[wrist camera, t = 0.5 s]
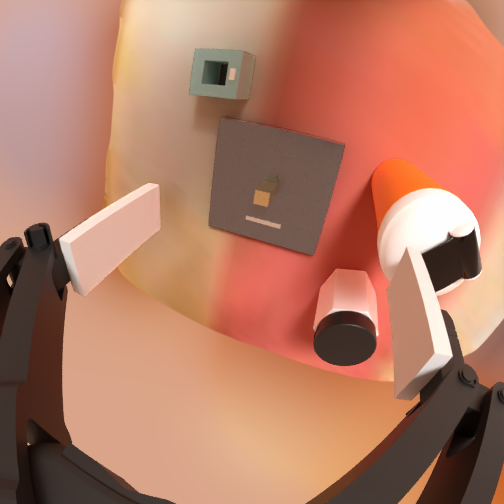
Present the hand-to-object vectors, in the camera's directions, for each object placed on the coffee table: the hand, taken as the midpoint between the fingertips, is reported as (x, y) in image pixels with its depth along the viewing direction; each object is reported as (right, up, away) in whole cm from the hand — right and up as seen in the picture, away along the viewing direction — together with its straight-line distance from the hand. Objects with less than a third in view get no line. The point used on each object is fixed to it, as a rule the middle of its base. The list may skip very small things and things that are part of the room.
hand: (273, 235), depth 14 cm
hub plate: (+2, +8, +24) cm, 25 cm away
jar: (+14, -7, +29) cm, 33 cm away
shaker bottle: (+18, +8, +19) cm, 27 cm away
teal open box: (-4, +22, +17) cm, 28 cm away
